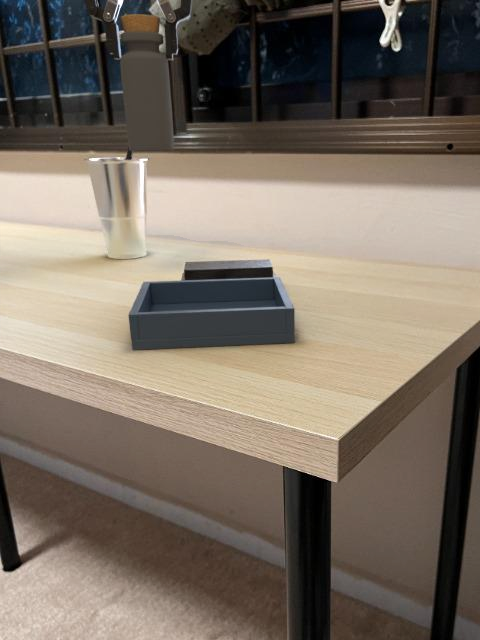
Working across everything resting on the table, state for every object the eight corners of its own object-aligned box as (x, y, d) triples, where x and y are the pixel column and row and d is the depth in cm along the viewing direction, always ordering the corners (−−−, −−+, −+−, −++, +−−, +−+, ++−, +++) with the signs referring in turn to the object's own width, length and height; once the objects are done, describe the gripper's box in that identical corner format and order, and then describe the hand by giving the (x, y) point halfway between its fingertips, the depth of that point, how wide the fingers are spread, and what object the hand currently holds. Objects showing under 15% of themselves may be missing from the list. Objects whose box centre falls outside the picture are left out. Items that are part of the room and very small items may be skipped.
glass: (166, 248, 109) (150, 58, 97) (158, 260, 98) (139, 49, 87) (105, 249, 108) (81, 58, 96) (90, 261, 98) (61, 49, 86)
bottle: (162, 149, 83) (151, 22, 77) (182, 150, 79) (173, 16, 73) (121, 150, 80) (107, 18, 74) (140, 151, 75) (127, 11, 70)
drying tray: (132, 350, 58) (128, 314, 57) (146, 311, 70) (143, 281, 69) (294, 342, 60) (294, 308, 58) (280, 306, 72) (280, 276, 71)
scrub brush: (181, 298, 76) (179, 270, 74) (183, 287, 81) (181, 261, 80) (277, 295, 77) (277, 267, 75) (273, 284, 82) (272, 258, 81)
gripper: (56, -125, 64) (78, 55, 71) (193, -119, 66) (202, 56, 73) (70, -100, 71) (89, 62, 78) (194, -96, 73) (202, 62, 79)
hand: (144, 58), depth 75 cm, fingers closed on bottle, 5 cm apart
